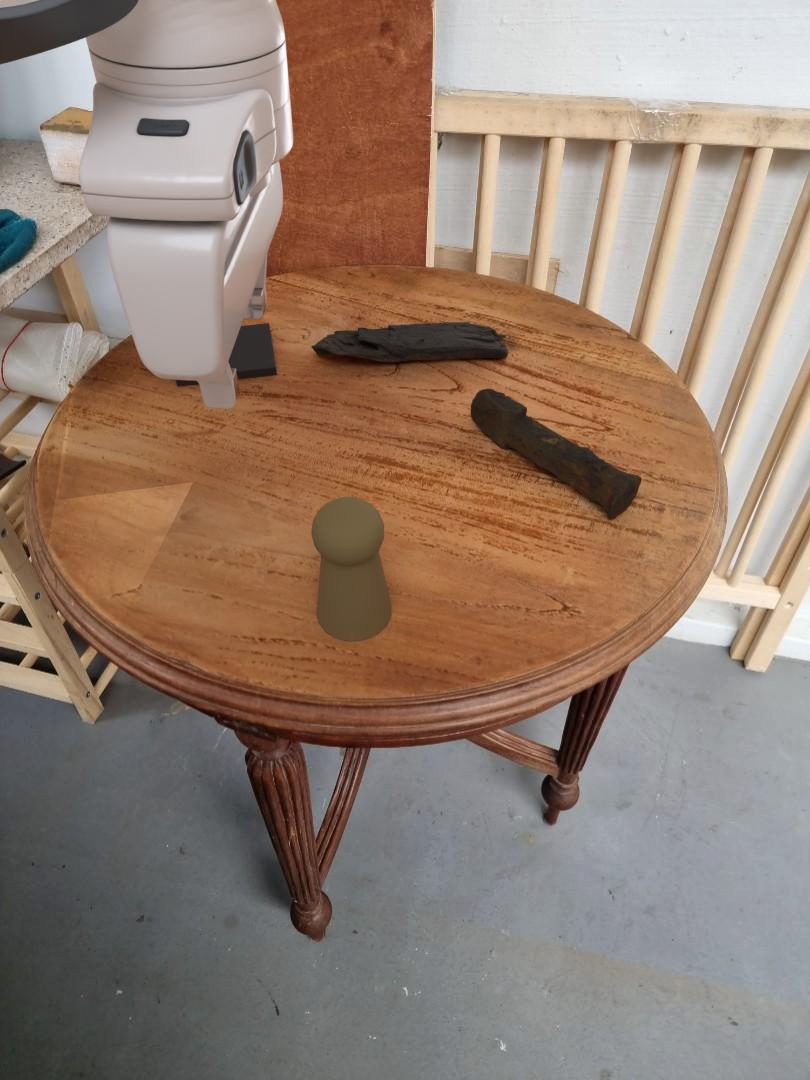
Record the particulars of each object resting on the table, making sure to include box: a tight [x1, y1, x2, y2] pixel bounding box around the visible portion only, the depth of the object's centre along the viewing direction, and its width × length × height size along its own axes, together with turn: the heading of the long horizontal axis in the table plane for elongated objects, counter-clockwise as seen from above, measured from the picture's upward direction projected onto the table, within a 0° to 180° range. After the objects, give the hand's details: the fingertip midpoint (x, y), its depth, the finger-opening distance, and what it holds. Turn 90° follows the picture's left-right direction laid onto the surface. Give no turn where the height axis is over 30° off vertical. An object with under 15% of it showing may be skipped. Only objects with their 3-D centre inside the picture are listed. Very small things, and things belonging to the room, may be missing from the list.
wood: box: [310, 321, 509, 363], centre depth 87 cm, size 22×7×3 cm, turn 95°
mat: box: [175, 322, 278, 387], centre depth 86 cm, size 11×9×1 cm
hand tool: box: [470, 388, 642, 520], centre depth 73 cm, size 19×4×5 cm, turn 41°
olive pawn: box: [310, 496, 393, 642], centre depth 58 cm, size 6×6×11 cm
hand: (238, 354), depth 48 cm, fingers open, 8 cm apart
